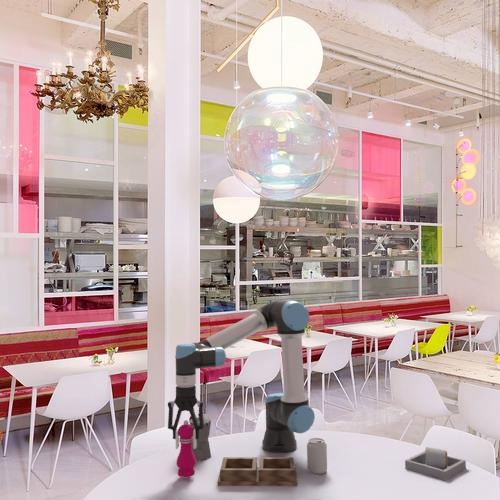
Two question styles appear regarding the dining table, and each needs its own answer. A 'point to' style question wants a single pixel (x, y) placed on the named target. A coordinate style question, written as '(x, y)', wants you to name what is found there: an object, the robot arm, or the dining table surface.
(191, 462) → the pepper mill
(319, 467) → the can
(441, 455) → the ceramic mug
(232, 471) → the wooden divided tray
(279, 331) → the robot arm
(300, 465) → the dining table surface
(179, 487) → the dining table surface
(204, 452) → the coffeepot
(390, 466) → the dining table surface
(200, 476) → the dining table surface
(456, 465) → the frame
